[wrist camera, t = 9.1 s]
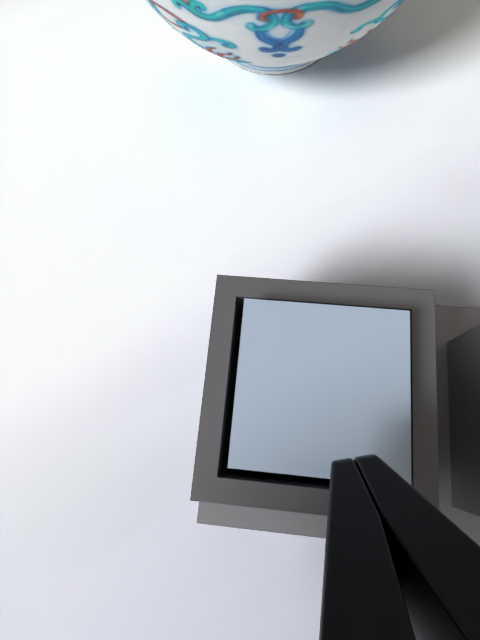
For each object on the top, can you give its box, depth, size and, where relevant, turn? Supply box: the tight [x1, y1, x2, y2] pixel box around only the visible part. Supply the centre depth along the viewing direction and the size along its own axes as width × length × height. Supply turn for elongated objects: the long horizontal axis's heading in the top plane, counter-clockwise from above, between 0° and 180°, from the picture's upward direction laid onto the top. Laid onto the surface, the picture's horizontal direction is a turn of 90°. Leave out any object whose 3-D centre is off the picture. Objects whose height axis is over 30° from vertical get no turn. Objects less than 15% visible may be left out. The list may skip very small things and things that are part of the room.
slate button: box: [227, 298, 411, 485], centre depth 13 cm, size 4×4×5 cm
